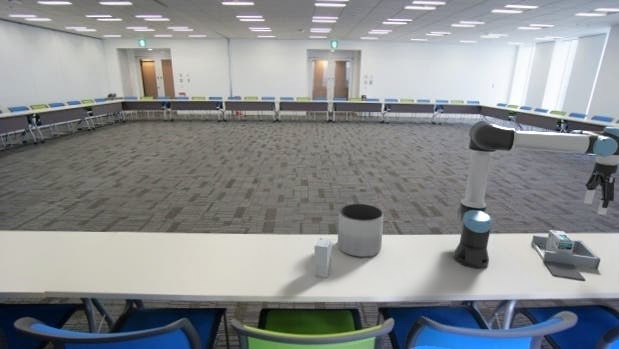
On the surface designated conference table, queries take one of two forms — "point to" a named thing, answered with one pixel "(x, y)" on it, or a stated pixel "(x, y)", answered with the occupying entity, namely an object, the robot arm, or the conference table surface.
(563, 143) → the robot arm
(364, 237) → the planter
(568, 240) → the light bulb box
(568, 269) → the mat
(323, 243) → the skincare box
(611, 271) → the conference table surface
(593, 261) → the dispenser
